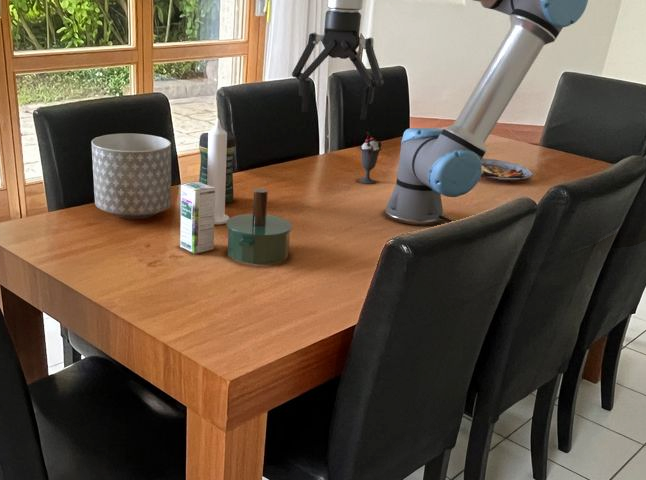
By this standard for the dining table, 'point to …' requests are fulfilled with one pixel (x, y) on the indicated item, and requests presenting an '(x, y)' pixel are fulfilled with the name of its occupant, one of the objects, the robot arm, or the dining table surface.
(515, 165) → the food plate
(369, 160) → the sundae
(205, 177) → the coffee jar
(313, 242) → the dining table surface
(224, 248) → the dining table surface
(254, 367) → the dining table surface
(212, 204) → the syrup box
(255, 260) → the pot
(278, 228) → the pot lid
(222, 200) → the white syringe
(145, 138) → the planter
